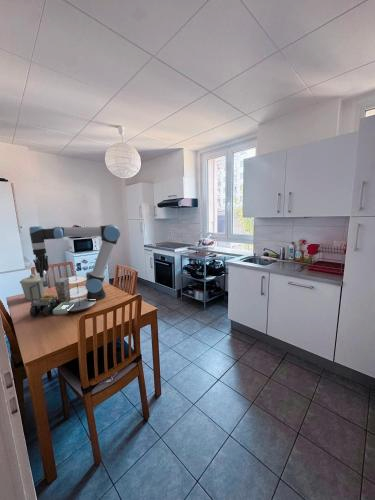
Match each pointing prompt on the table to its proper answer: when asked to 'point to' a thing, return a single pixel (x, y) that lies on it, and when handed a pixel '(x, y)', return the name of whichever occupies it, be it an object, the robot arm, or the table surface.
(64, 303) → the tray
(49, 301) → the trolley
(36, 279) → the canister
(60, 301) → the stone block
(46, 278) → the pin
